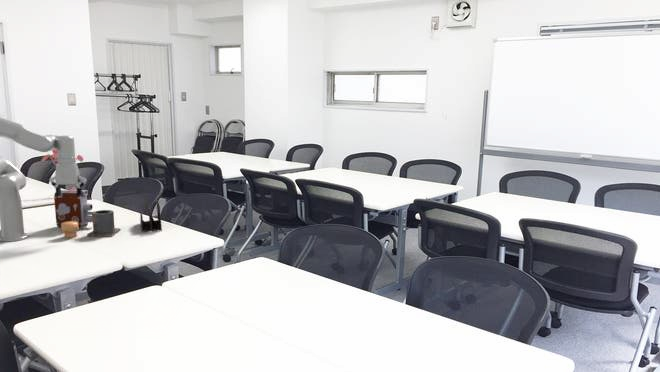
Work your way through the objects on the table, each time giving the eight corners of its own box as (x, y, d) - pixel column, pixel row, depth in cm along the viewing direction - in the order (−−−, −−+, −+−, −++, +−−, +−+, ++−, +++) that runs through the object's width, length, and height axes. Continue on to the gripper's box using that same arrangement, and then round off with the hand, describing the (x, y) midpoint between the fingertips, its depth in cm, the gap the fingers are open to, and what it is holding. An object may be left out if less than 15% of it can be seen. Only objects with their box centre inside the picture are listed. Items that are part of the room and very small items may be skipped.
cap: (59, 238, 247) (58, 224, 246) (66, 234, 255) (65, 221, 253) (74, 238, 248) (73, 224, 246) (81, 234, 255) (80, 221, 254)
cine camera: (91, 229, 265) (88, 192, 262) (54, 229, 265) (51, 191, 262) (99, 225, 274) (97, 188, 271) (64, 224, 274) (61, 188, 271)
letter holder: (159, 222, 283) (158, 197, 280) (161, 231, 265) (160, 204, 262) (140, 223, 279) (139, 198, 277) (141, 232, 261) (140, 205, 259)
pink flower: (88, 194, 356) (84, 145, 351) (48, 199, 338) (43, 147, 333) (80, 192, 367) (75, 144, 361) (40, 197, 349) (35, 146, 343)
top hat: (87, 236, 252) (85, 214, 250) (97, 230, 263) (95, 209, 261) (111, 236, 252) (110, 214, 250) (120, 230, 264) (119, 209, 262)
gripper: (44, 161, 242) (47, 197, 245) (81, 162, 243) (84, 197, 246) (52, 160, 249) (54, 194, 252) (88, 160, 250) (90, 194, 253)
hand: (69, 195), depth 249 cm, fingers open, 9 cm apart
